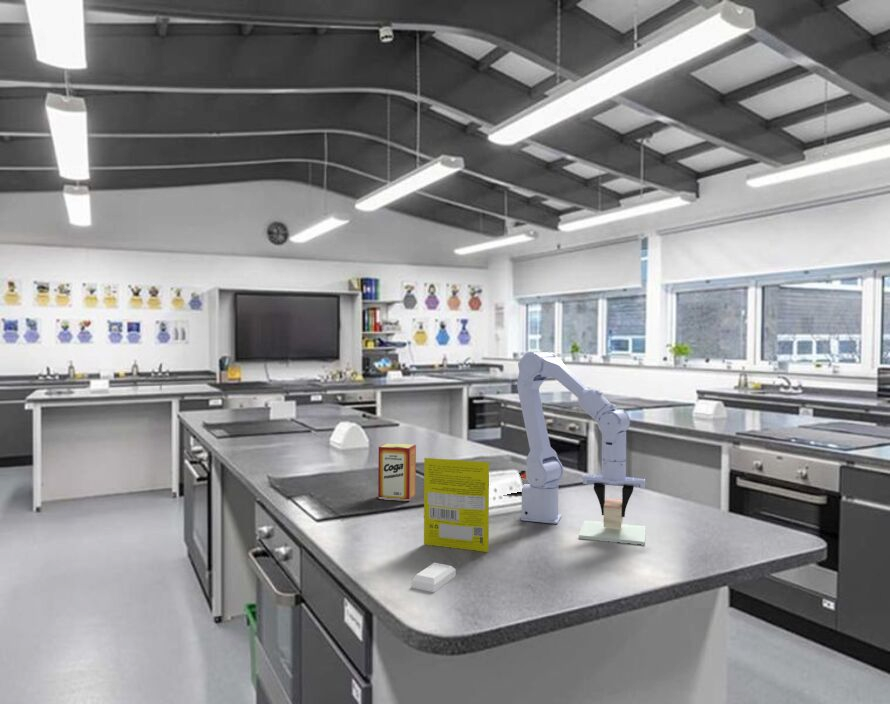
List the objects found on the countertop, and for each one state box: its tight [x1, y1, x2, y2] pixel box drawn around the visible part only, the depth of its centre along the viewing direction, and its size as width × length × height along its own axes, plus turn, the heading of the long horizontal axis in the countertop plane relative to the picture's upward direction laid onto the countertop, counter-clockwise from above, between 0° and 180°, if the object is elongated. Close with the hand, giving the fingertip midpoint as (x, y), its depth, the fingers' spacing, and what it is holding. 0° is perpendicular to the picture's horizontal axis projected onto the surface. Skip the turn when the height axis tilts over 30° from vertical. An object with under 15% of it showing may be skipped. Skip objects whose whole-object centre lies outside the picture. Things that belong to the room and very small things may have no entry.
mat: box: [578, 520, 647, 546], centre depth 152 cm, size 15×13×1 cm
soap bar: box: [410, 562, 457, 593], centre depth 121 cm, size 5×9×3 cm, turn 153°
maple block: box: [603, 497, 624, 529], centre depth 152 cm, size 8×4×5 cm, turn 161°
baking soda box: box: [377, 443, 417, 499], centre depth 186 cm, size 10×6×16 cm
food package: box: [423, 457, 490, 553], centre depth 141 cm, size 15×1×20 cm, turn 71°
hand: (613, 515), depth 152 cm, fingers closed on maple block, 4 cm apart
